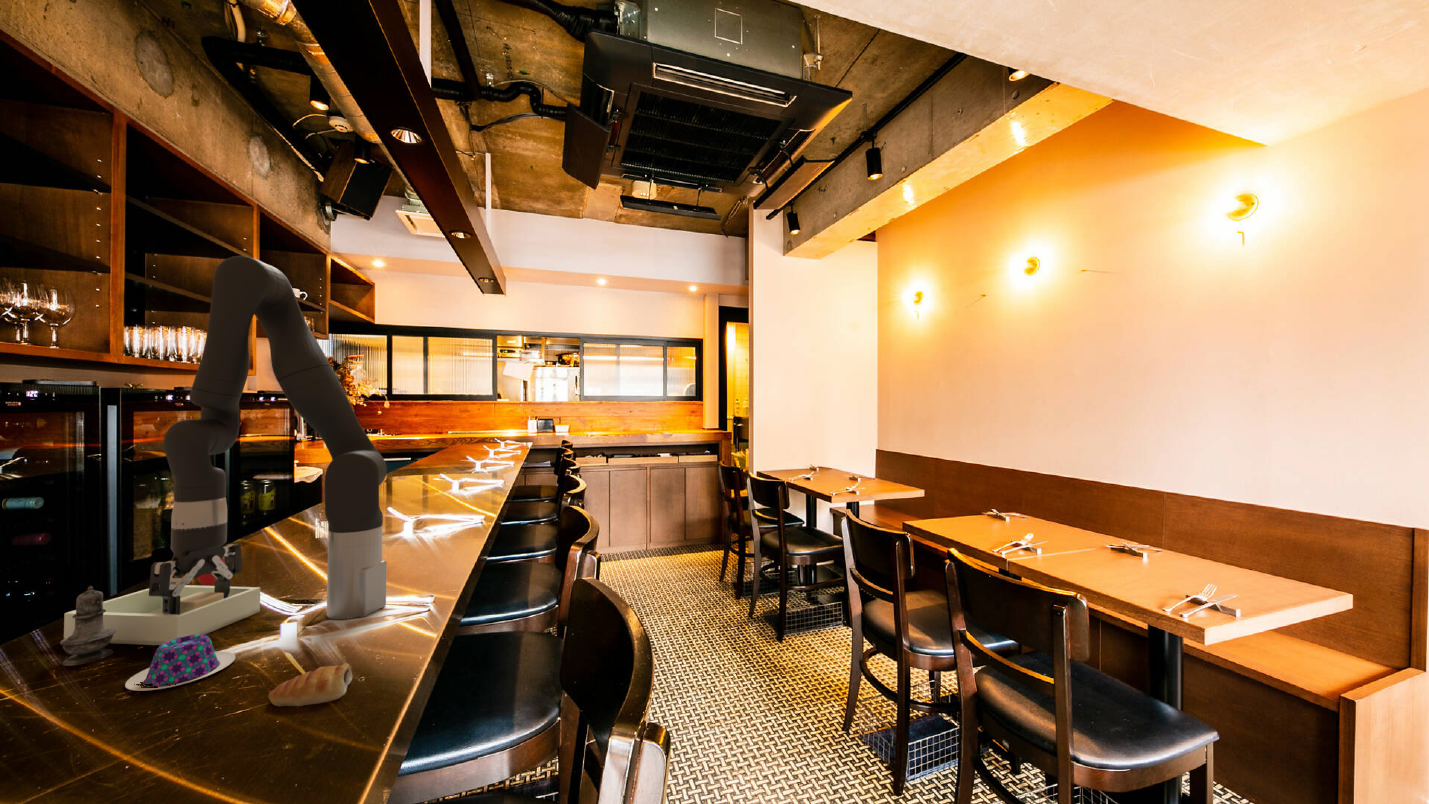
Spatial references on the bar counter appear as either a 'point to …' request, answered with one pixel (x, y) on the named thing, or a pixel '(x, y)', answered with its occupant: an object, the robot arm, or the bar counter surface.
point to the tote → (149, 626)
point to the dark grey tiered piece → (88, 631)
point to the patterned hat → (181, 663)
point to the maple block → (199, 600)
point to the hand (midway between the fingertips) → (197, 607)
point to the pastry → (313, 687)
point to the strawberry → (208, 578)
